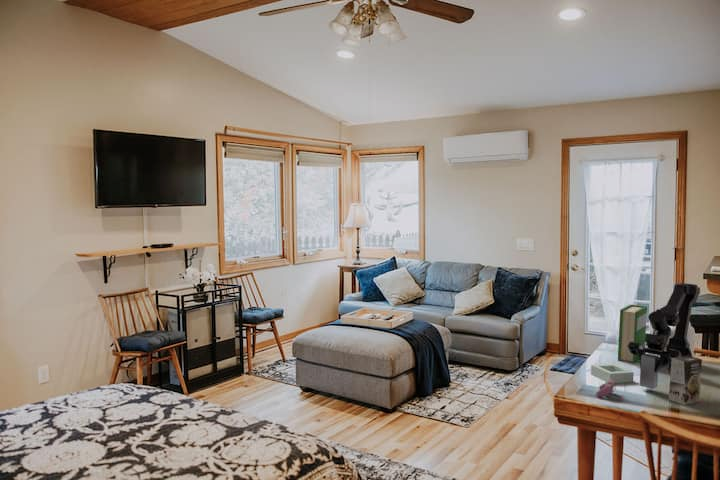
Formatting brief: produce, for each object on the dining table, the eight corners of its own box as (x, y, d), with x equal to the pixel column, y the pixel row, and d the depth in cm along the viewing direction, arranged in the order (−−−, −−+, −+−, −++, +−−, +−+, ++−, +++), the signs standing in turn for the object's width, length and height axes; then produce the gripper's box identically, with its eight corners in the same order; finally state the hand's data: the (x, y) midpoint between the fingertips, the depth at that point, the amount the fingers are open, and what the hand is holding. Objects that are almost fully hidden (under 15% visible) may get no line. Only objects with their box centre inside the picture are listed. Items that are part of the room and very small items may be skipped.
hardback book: (635, 363, 251) (637, 311, 250) (617, 360, 256) (620, 309, 255) (644, 355, 265) (647, 306, 263) (627, 353, 270) (630, 304, 268)
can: (660, 363, 253) (662, 320, 251) (663, 357, 263) (665, 315, 262) (692, 368, 246) (694, 324, 244) (694, 361, 256) (696, 319, 255)
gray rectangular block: (644, 382, 219) (646, 353, 218) (658, 386, 215) (659, 356, 214) (639, 385, 216) (641, 355, 215) (653, 388, 212) (654, 358, 211)
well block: (613, 372, 237) (613, 363, 237) (633, 381, 226) (633, 372, 225) (590, 374, 235) (591, 365, 234) (609, 383, 223) (610, 373, 223)
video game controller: (606, 403, 205) (616, 388, 203) (594, 395, 207) (604, 381, 205) (609, 395, 213) (619, 381, 211) (598, 388, 215) (608, 374, 213)
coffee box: (685, 405, 199) (687, 362, 198) (668, 400, 205) (670, 357, 204) (700, 401, 204) (703, 359, 202) (683, 396, 209) (685, 354, 208)
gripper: (630, 321, 223) (617, 353, 216) (681, 330, 209) (669, 364, 203) (637, 337, 229) (625, 368, 222) (687, 346, 215) (675, 380, 208)
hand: (647, 370), depth 214 cm, fingers closed on gray rectangular block, 5 cm apart
